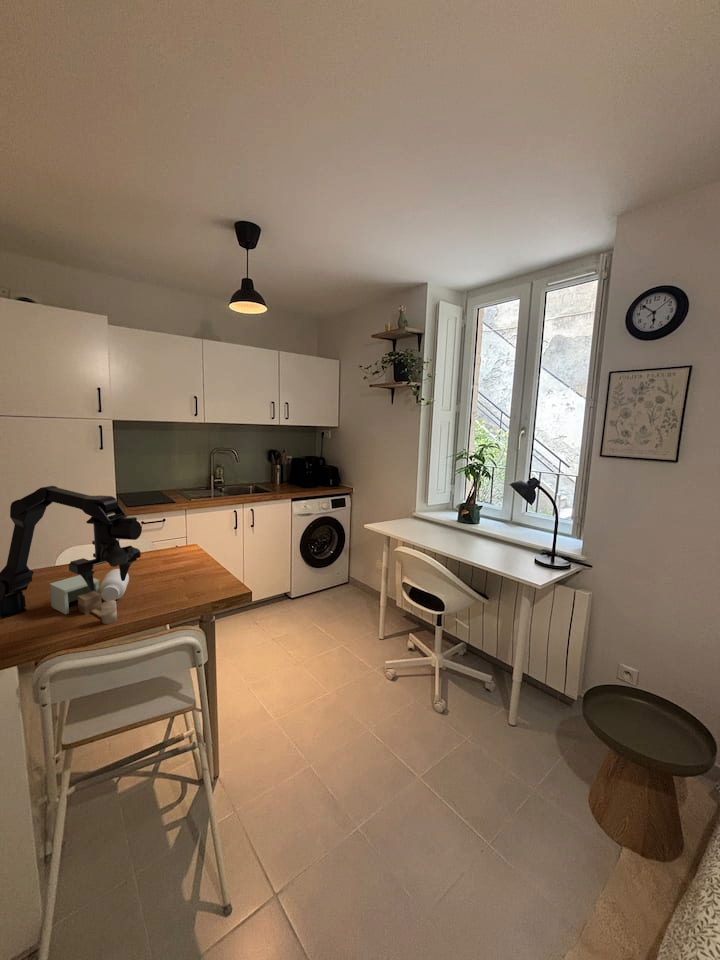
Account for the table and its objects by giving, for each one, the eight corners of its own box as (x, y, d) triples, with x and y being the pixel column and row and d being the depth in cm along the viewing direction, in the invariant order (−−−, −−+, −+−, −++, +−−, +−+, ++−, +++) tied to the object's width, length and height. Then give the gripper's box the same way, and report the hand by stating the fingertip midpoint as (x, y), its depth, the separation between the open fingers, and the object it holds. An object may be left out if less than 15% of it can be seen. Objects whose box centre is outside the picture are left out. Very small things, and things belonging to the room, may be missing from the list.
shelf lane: (66, 614, 129) (64, 590, 128) (51, 607, 134) (49, 583, 133) (100, 602, 138) (99, 580, 137) (85, 595, 143) (83, 573, 142)
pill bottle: (105, 589, 148) (96, 606, 135) (104, 569, 147) (96, 584, 134) (129, 587, 152) (123, 603, 138) (129, 567, 151) (123, 581, 137)
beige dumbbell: (104, 625, 123) (103, 607, 122) (78, 610, 132) (77, 593, 131) (121, 619, 127) (120, 602, 126) (94, 604, 136) (93, 588, 136)
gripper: (86, 550, 110) (89, 603, 112) (150, 535, 126) (152, 581, 128) (65, 543, 115) (69, 593, 118) (129, 529, 132) (131, 574, 134)
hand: (108, 585), depth 124 cm, fingers open, 9 cm apart
